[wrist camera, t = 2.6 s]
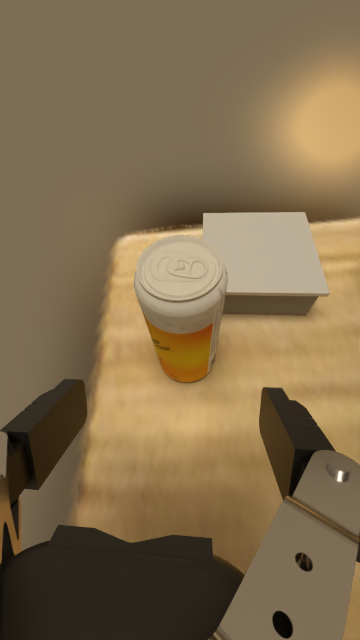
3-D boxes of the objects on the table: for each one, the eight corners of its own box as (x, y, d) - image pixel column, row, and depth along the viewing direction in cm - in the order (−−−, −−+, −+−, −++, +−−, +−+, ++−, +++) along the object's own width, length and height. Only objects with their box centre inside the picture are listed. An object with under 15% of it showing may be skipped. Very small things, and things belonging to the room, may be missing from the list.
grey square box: (291, 242, 36) (304, 212, 32) (310, 318, 30) (329, 293, 25) (202, 242, 37) (203, 213, 33) (201, 316, 31) (202, 291, 26)
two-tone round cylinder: (168, 329, 30) (146, 226, 17) (218, 339, 29) (235, 236, 16) (153, 377, 27) (115, 296, 14) (209, 389, 26) (222, 314, 13)
